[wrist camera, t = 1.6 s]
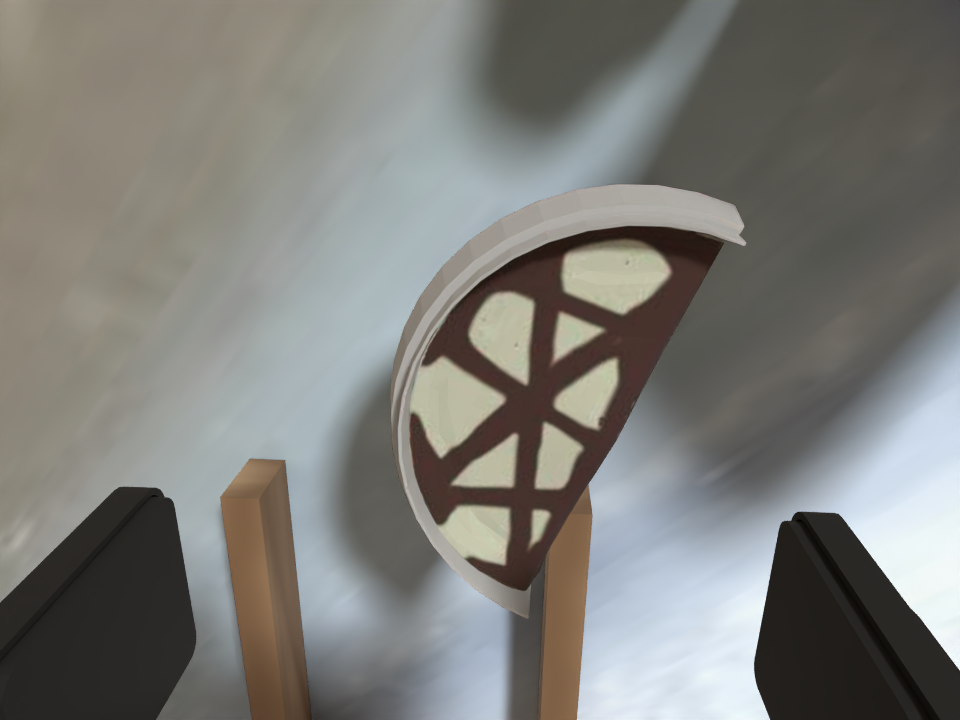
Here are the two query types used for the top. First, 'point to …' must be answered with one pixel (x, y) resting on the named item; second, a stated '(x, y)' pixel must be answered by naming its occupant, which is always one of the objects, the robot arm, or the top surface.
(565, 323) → the food container
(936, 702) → the robot arm
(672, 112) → the top surface
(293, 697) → the bay
